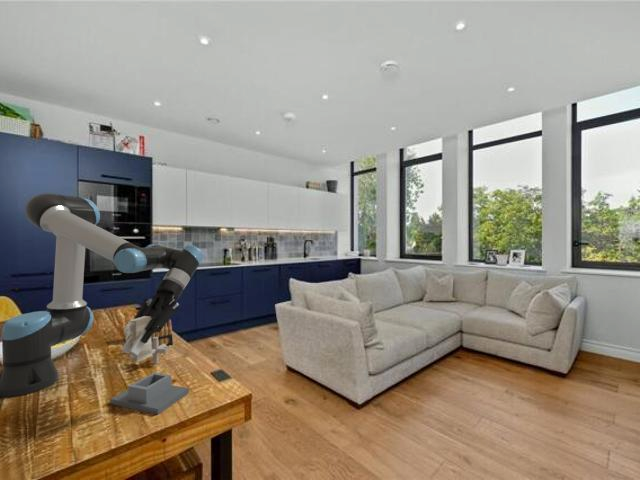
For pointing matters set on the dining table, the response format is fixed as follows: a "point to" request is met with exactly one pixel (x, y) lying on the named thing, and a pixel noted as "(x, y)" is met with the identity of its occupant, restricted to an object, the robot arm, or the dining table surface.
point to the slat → (135, 331)
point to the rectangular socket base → (150, 394)
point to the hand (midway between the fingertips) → (129, 352)
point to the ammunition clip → (166, 337)
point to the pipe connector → (157, 349)
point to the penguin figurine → (127, 331)
